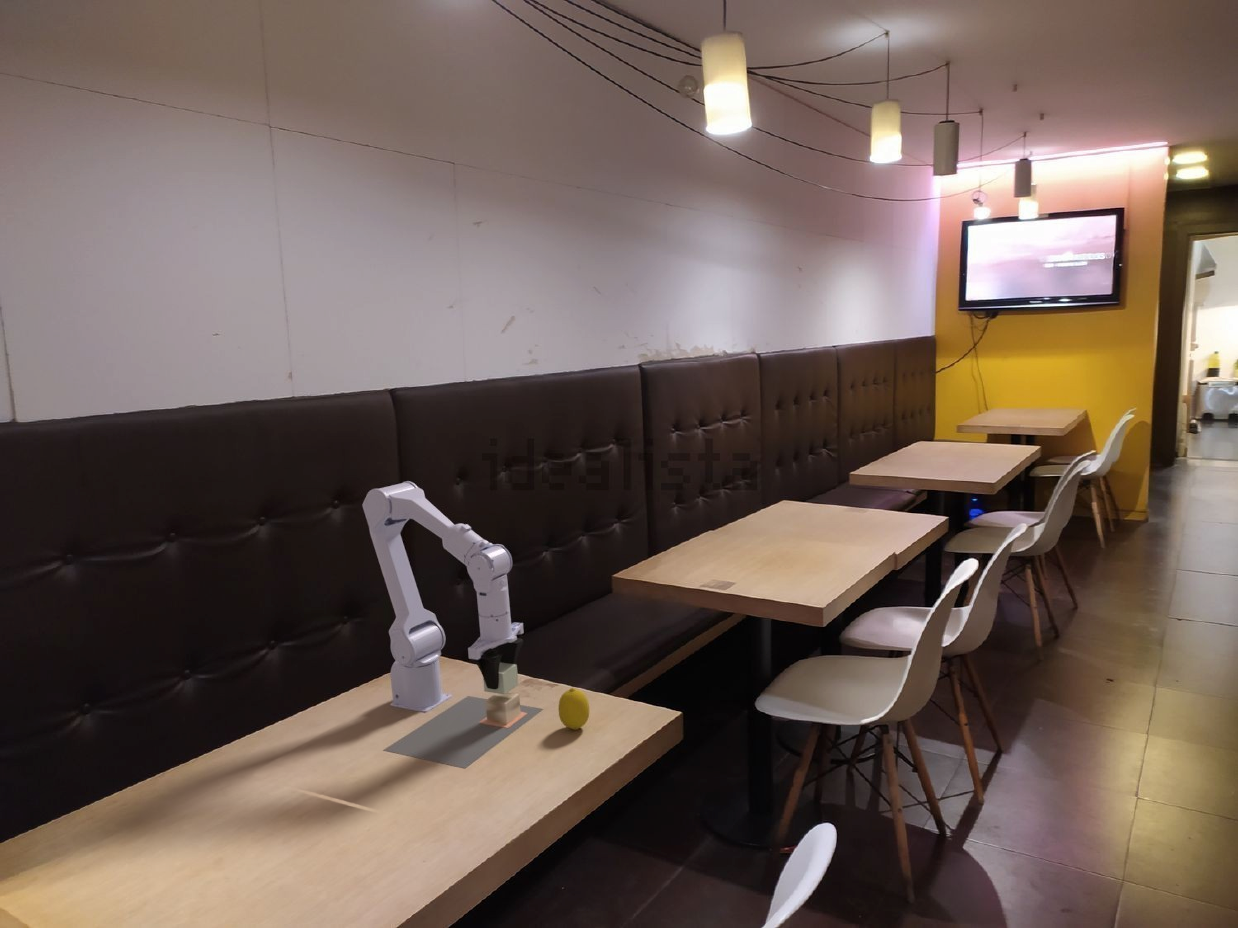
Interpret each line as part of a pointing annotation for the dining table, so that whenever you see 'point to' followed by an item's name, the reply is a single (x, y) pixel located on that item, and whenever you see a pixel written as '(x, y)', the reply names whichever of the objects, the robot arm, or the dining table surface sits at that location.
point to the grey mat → (459, 734)
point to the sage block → (505, 679)
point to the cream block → (503, 708)
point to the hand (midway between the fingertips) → (500, 682)
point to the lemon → (573, 709)
